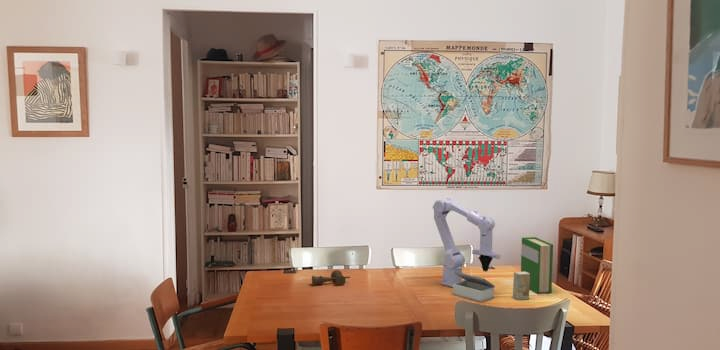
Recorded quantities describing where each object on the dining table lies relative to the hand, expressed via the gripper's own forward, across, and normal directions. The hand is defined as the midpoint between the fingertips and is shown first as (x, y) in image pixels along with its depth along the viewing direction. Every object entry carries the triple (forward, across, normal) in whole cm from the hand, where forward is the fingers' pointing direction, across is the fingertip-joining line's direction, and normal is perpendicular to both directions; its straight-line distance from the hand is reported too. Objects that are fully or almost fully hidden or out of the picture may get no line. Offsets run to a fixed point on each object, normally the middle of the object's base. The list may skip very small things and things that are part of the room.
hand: (485, 270), depth 261 cm
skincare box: (+11, -17, -4) cm, 20 cm away
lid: (+3, 0, +9) cm, 10 cm away
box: (+10, 0, +10) cm, 14 cm away
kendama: (+11, +61, +46) cm, 77 cm away
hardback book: (+11, -14, -23) cm, 29 cm away
